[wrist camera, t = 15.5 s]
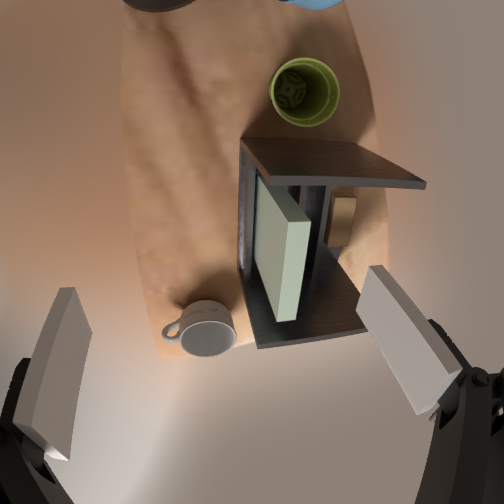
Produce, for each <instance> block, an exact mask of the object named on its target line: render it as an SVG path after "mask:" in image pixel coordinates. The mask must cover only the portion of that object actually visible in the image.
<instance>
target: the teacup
mask: <svg viewBox="0 0 504 504" xmlns="http://www.w3.org/2000/svg"><path fill="white" fill-rule="evenodd" d="M177 327H179V331H178V332H177V334H176V335H175V336H173V337H169V336H167V333H168V332H169V331H171V330H172V329H174V328H177ZM162 337H163V339H164V341H165V342H167V343H176V342H178V341H179V342H180V345H181V347H182V348H183V350H184V351H185V352H187V353H189V354H191V355H193V356H197V357H214V356H218V355H221V354H223V353H225V352H227V351H229V350H230V349H231V348H232V347H233V345H234V344H235V342H236V339H237V336H236V332H235V329H234V324H233V320H232V317H231V314H230V312H229V310H228V309H227V308H226V307H225V306H224V305H223V304H221V303H219V302H216V301H213V300H201V301H197V302H194V303H192V304H190V305H189V306H187V307H186V308H185V309H184V311H183V312H182V314H181V317H180V318H179V319H177V320H176V321H175V322H173V323H171V324H169V325H167V326H166V327H165V328H164V329H163V330H162Z"/></svg>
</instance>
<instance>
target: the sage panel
mask: <svg viewBox="0 0 504 504" xmlns="http://www.w3.org/2000/svg"><path fill="white" fill-rule="evenodd" d="M310 226H311V221H310V219H309V218H308V217H307V216H306V214H305V213H304V212H303V210H302V209H301V208H300V207H299V205H298V204H297V203H296V202H295V200H294V199H293V198H292V196H291V195H290V194H289V193H288V191H287V190H286V189H285V188H284V187H283V186H269V184H268V183H267V181H266V180H265V179H264V177H263V176H262V174H261V173H260V172H259V171H256V173H255V195H254V217H253V238H252V252H253V255H254V258H255V261H256V264H257V267H258V269H259V272H260V275H261V278H262V281H263V284H264V287H265V290H266V292H267V295H268V298H269V301H270V304H271V307H272V310H273V312H274V315H275V318H276V321H277V322H280V321H289V320H295V319H296V314H297V308H298V302H299V297H300V291H301V285H302V279H303V272H304V266H305V260H306V253H307V247H308V240H309V233H310Z"/></svg>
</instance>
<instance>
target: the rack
mask: <svg viewBox="0 0 504 504" xmlns="http://www.w3.org/2000/svg"><path fill="white" fill-rule="evenodd" d="M256 171H259V172H260V173H261V174H262V176H263V177H264V179H265V180H266V181H267V183H268V184H269V186H283V187H284V188H285V189H286V190H287V191H288V193H289V194H290V195H291V196H292V198H293V199H294V200H295V202H296V203H297V204H298V205H299V207H300V208H301V209H302V210H303V212H304V213H305V214H306V216H307V217H308V218H309V219H310V221H311V226H310V233H309V240H308V247H307V253H306V260H305V266H304V272H303V279H302V285H301V291H300V297H299V302H298V308H297V314H296V319H295V320H289V321H280V322H277V321H276V318H275V315H274V312H273V310H272V307H271V304H270V301H269V298H268V295H267V292H266V290H265V287H264V284H263V281H262V278H261V275H260V272H259V269H258V267H257V264H256V261H255V258H254V255H253V252H252V238H253V217H254V195H255V173H256ZM426 183H427V182H426V181H424V180H422V179H420V178H419V177H417V176H415V175H414V174H412V173H410V172H409V171H406V170H405V169H403V168H401V167H400V166H398V165H396V164H394V163H392V162H390V161H388V160H387V159H385V158H383V157H381V156H379V155H377V154H375V153H373V152H371V151H369V150H367V149H365V148H363V147H361V146H359V145H357V144H355V143H348V142H336V141H322V140H305V139H281V138H240V156H239V194H238V242H237V271H238V275H239V279H240V283H241V287H242V291H243V295H244V299H245V303H246V307H247V311H248V314H249V318H250V322H251V326H252V330H253V334H254V338H255V342H256V345H257V349H264V348H272V347H279V346H286V345H294V344H301V343H307V342H313V341H320V340H326V339H332V338H338V337H343V336H349V335H354V334H359V333H363V332H369V331H368V330H367V328H366V327H365V325H364V323H363V322H362V320H361V318H360V317H359V315H358V314H357V312H356V307H357V304H358V301H359V298H360V295H361V294H360V293H359V291H358V290H357V288H356V287H355V285H354V284H353V283H352V281H351V280H350V278H349V277H348V275H347V274H346V273H345V271H344V270H343V268H342V267H341V266H340V264H339V263H338V258H339V254H340V249H341V246H337V247H327V246H326V245H325V243H324V242H323V240H324V234H325V228H326V222H327V216H328V210H329V203H330V196H331V190H332V186H361V187H386V188H387V187H388V188H405V189H421V190H425V188H426Z"/></svg>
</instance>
